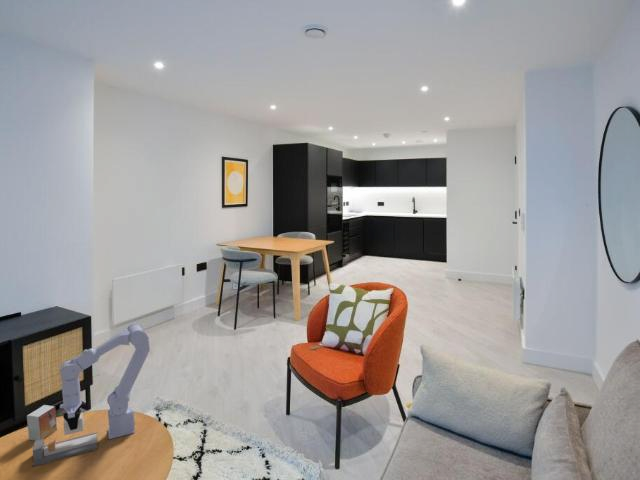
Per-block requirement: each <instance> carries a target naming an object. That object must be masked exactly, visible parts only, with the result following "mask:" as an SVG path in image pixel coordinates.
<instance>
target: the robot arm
mask: <svg viewBox="0 0 640 480" xmlns="http://www.w3.org/2000/svg"><path fill="white" fill-rule="evenodd" d="M149 339H150V338H149V336H148V335H147V333H146V332H145V331H144V329H143V328H142V325H140V324H138V323H133V324H130V325H129V326H127V327H124V328H123V329H121V330H120V331H119V332H118V333H116V334H115V335H113V336H112V337H110V338H109V339H108V340H106V341H105V342H103V343H102V344H100V345H99V346H98V347H96V348H93V347H92V348H88V349H87V348H86V349H84V350H83V351H82V353H80V354H79V355H77V356H75V357H71V358H70V360H66V361H64V362H62V364H61V365H60V367H59V372H60V377H61V393H62V403H61V404H60V405H59V409H63V410H64V411H65V413H64V412H63V415H62V416H63V420H64V419H65V420H66V421H67V423H68V425H69V428H70V430H74V429H77V426H78V419H79V416H80V414H81V413H82V410H81V407H82V405H83V401H82V397H81V385H80V384H81V383H80V377H79V375H80V373H81V372H82V371H84V370H86V369H88V368H89V367H91V366H92V365H94V364H96V363H97V362H98V361H99V360H100V358H101V356H102V355H105V354H107V353H108V352H110V351H112V350H113V349H115V348H117V347H119V346H121V345H124V346H130V344H132V346H133V347H134V348H135V350H134V352H133V353H132V357H130V360H129V363H128V364H127V367H126V369H125V371H124V373H123V375H122V377H121V379H120V381H119V384H118V385H117V386H115V388H114V389H113V391H112V392H111V393H109V395H108V396H107V399H106V403H107V404H108V406H109V408H108V409H109V410H108V411H107V417H108V428H107V431H108V432H107V433H108V434H107V435H108V440H112V439H116V438H119V437H123V436H127V435H131V434H134V433H135V431H136V430H135V428H136V427H135V425H136V421H135V413H134V407H129V401H130V399H131V398H130V396H131V391H132V389H133V387H134V384H135V382H136V380H137V378H138V375H139V374H140V372H141V369H142V367H143V365H144V363H145V361H146V359H147V357H148V355H149V352H150V351H151V350H150V341H149Z"/></svg>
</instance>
